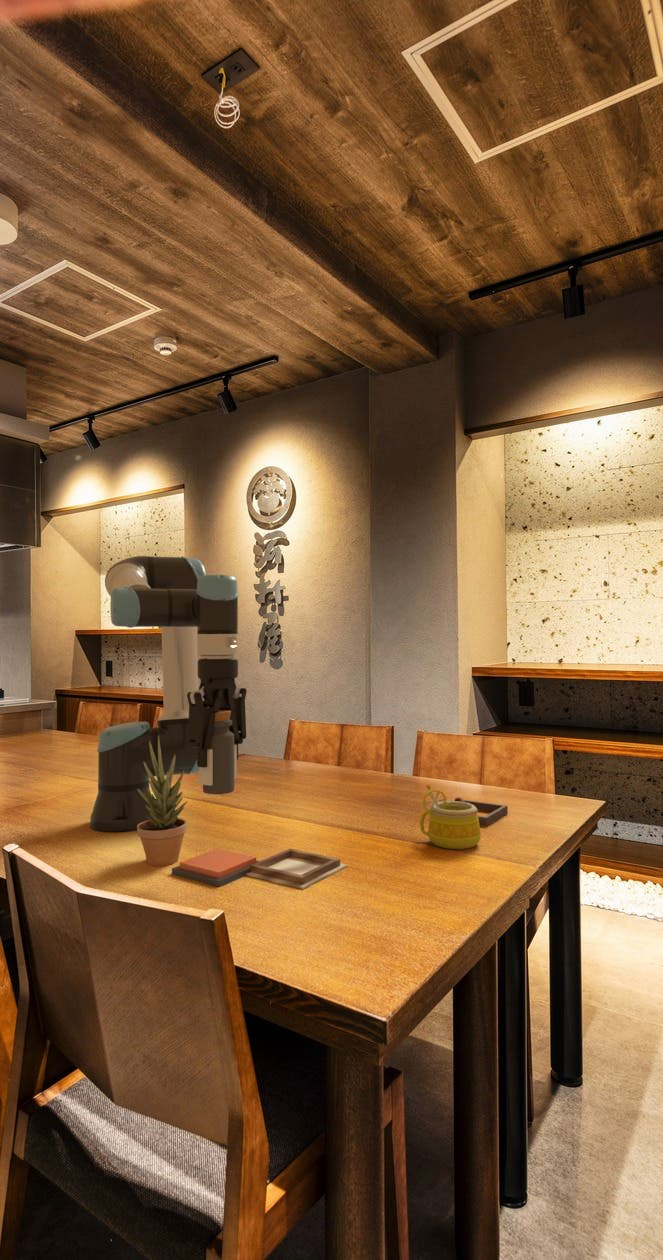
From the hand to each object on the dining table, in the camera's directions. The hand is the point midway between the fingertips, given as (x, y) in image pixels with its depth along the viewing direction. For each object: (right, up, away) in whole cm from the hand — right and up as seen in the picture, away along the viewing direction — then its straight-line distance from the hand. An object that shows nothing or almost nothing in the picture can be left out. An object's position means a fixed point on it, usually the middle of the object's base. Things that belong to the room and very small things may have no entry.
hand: (218, 781), depth 127 cm
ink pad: (0, -17, 0) cm, 17 cm away
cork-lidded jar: (0, -2, 0) cm, 2 cm away
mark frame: (+14, -17, -1) cm, 22 cm away
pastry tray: (+55, -17, +37) cm, 68 cm away
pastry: (+52, -17, +37) cm, 66 cm away
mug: (+46, -17, +15) cm, 51 cm away
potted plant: (-12, -17, +5) cm, 21 cm away
